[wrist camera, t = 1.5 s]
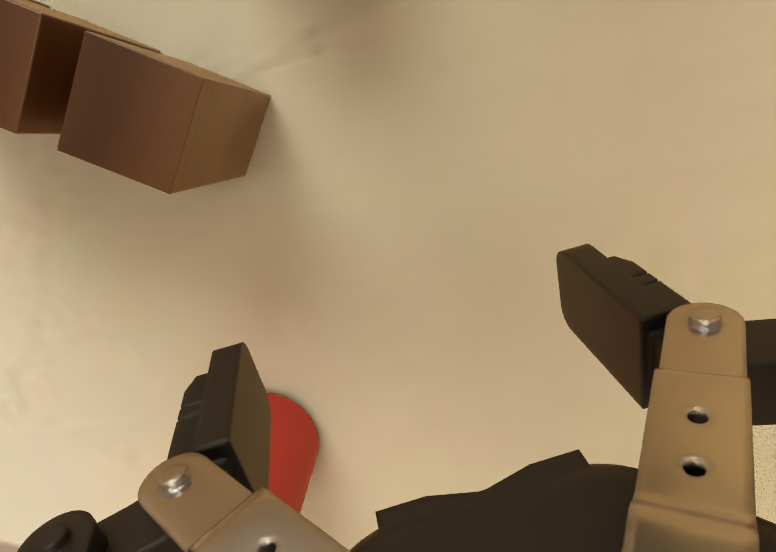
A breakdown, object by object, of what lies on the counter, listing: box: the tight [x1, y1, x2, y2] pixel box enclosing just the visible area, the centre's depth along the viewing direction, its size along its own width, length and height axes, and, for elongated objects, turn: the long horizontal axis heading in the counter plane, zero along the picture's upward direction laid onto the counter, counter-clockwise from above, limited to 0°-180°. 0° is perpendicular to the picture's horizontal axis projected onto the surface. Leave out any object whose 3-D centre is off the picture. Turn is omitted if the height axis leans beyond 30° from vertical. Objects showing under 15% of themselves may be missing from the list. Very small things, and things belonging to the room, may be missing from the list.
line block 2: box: [57, 31, 270, 194], centre depth 26 cm, size 5×5×10 cm
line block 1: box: [0, 0, 161, 134], centre depth 26 cm, size 5×5×10 cm
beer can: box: [267, 393, 319, 513], centre depth 30 cm, size 7×7×12 cm
